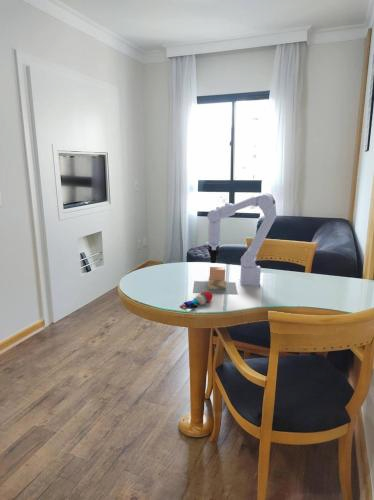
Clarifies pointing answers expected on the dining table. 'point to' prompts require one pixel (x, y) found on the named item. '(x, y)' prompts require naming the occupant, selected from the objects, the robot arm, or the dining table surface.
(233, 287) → the build plate
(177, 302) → the dining table surface
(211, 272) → the terracotta brick
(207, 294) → the toy figure
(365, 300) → the dining table surface
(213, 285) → the oak brick
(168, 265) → the dining table surface
